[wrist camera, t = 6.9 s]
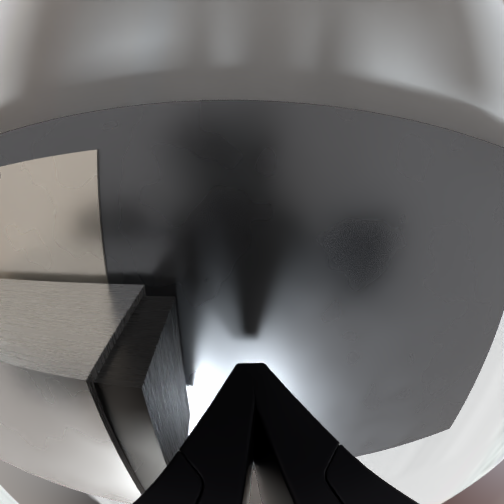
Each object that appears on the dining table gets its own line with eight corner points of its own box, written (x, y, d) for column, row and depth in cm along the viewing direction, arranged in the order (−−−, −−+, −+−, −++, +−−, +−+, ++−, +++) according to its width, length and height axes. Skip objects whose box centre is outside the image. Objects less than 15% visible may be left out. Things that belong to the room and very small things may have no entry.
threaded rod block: (192, 413, 8) (181, 510, 5) (-35, 365, 8) (-75, 411, 4) (176, 284, 7) (136, 386, 4) (-67, 272, 6) (-123, 308, 3)
